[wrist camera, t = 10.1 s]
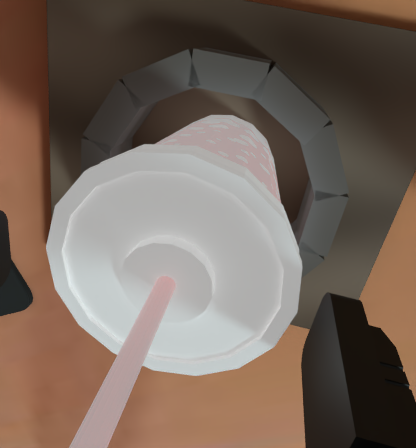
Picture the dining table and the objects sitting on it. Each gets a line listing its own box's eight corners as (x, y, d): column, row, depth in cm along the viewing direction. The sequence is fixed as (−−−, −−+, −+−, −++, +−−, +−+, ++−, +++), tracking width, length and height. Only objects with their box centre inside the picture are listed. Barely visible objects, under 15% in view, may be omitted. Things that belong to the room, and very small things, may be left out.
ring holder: (61, -31, 16) (3, -50, 12) (458, 42, 14) (509, 42, 11) (63, 253, 22) (25, 290, 19) (338, 322, 21) (349, 374, 17)
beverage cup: (200, 63, 15) (-167, 160, 3) (322, 151, 16) (478, 556, 3) (132, 180, 18) (-208, 498, 5) (238, 251, 19) (151, 679, 6)
